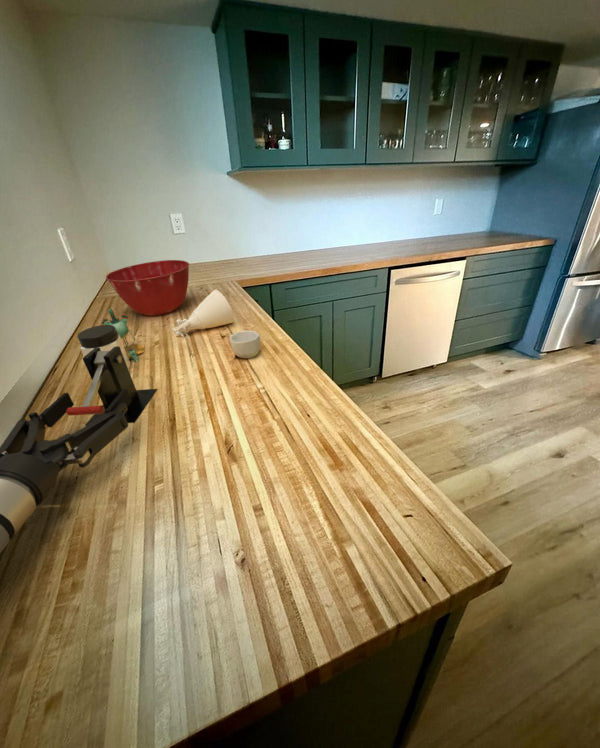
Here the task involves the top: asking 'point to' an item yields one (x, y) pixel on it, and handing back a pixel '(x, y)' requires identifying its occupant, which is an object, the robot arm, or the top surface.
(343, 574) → the top surface
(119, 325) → the frog figurine
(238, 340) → the teacup
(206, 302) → the rocket engine
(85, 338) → the jar
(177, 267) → the mixing bowl
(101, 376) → the lever
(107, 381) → the bracket
